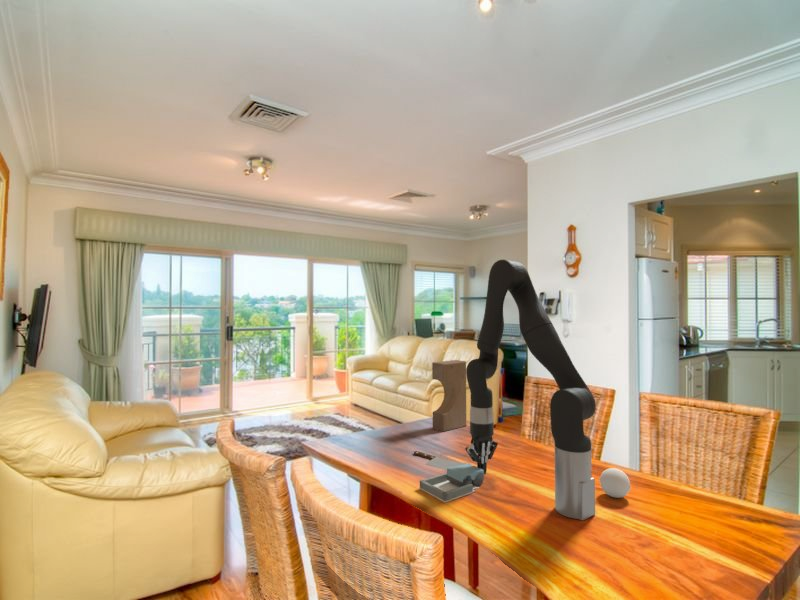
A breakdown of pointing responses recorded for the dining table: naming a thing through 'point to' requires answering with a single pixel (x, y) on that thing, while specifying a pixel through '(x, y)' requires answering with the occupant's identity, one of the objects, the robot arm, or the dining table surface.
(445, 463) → the kitchen cleaver
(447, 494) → the dock
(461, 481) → the pale blue lipped slab
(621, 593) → the dining table surface
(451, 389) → the decorative block
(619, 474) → the ball
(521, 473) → the dining table surface
